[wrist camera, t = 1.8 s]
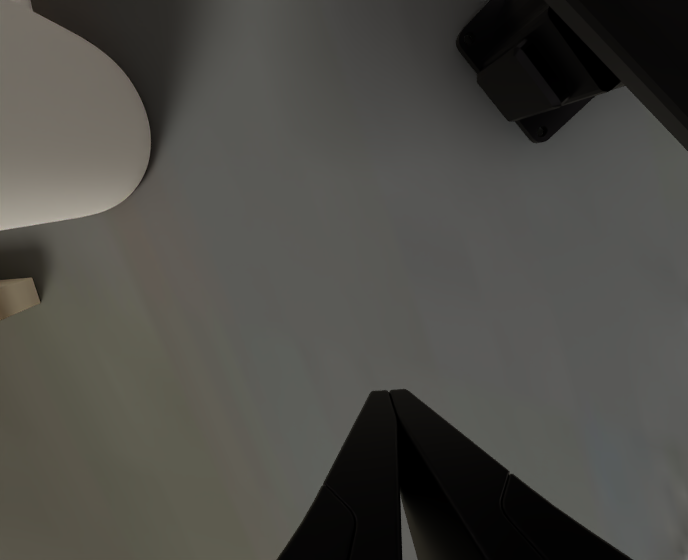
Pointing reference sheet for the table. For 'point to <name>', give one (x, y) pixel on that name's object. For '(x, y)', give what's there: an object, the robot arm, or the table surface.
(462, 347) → the table surface
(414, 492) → the robot arm
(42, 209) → the cup
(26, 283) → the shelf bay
